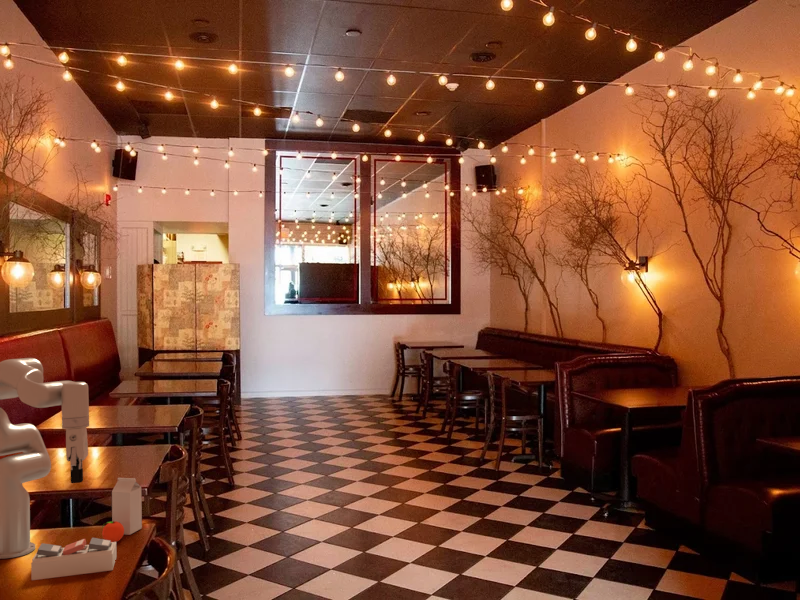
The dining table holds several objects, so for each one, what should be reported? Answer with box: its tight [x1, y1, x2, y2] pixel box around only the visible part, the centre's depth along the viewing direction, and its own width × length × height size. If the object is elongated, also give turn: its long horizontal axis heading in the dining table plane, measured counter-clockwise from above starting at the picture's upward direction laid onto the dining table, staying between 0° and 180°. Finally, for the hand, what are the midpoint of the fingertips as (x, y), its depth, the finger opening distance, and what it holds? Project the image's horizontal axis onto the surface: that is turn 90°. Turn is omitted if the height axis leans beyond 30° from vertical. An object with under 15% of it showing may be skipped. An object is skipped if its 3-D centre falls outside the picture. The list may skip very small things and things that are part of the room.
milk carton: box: [111, 477, 143, 536], centre depth 236 cm, size 7×7×19 cm
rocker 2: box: [88, 537, 111, 550], centre depth 203 cm, size 6×6×2 cm
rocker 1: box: [36, 542, 62, 556], centre depth 199 cm, size 6×6×2 cm
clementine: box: [101, 520, 125, 543], centre depth 225 cm, size 8×7×7 cm
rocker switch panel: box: [30, 542, 117, 581], centre depth 202 cm, size 22×11×6 cm, turn 108°
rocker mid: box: [63, 538, 87, 555], centre depth 201 cm, size 6×6×2 cm
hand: (76, 482), depth 203 cm, fingers closed
